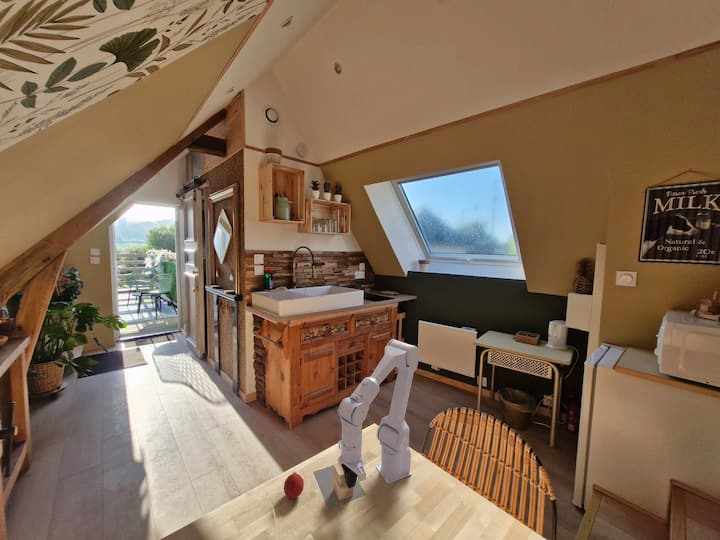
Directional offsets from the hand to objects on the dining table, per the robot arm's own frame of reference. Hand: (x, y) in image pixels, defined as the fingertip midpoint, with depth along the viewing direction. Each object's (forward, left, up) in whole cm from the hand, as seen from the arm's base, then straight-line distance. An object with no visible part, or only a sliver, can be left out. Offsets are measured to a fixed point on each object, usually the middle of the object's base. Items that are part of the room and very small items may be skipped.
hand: (350, 485), depth 83 cm
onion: (+14, -10, -7) cm, 19 cm away
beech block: (0, -5, -6) cm, 8 cm away
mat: (0, -9, -7) cm, 12 cm away
